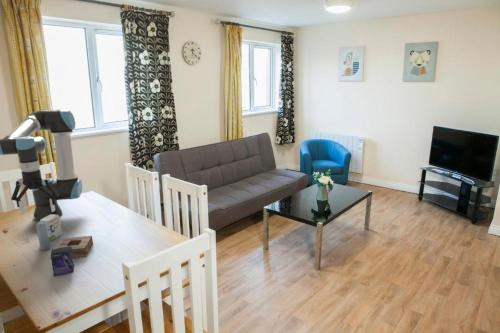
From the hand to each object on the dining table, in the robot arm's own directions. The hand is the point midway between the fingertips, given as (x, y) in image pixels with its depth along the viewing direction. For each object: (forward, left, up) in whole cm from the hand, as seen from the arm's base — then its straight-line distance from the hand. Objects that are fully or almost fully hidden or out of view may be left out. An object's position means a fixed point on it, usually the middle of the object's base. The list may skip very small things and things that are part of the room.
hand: (38, 212), depth 167 cm
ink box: (-13, -1, -20) cm, 24 cm away
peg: (0, 0, -20) cm, 20 cm away
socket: (+6, +16, -20) cm, 26 cm away
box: (+23, +16, -20) cm, 35 cm away
